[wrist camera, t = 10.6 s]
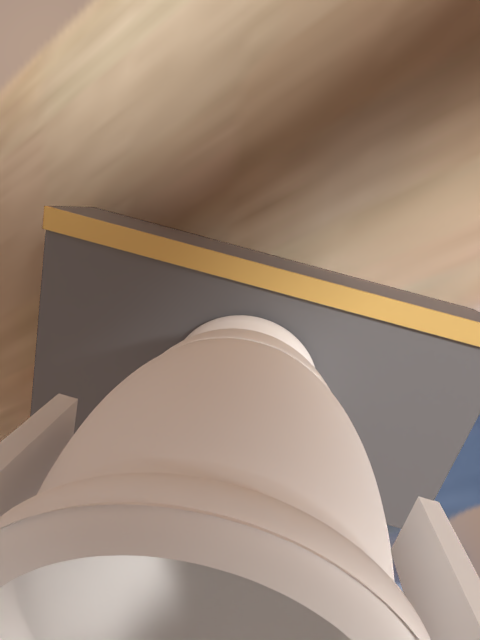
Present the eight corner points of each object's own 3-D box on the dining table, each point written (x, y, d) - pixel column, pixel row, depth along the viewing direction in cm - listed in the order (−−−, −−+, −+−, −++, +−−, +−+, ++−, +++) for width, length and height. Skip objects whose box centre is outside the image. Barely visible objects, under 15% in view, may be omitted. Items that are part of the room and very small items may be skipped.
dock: (472, 308, 24) (525, 335, 19) (393, 477, 28) (418, 536, 23) (92, 207, 24) (44, 206, 19) (71, 387, 28) (26, 425, 23)
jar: (137, 421, 23) (-99, 771, 9) (183, 267, 20) (-66, 416, 5) (295, 479, 23) (322, 924, 9) (366, 335, 20) (595, 659, 5)
